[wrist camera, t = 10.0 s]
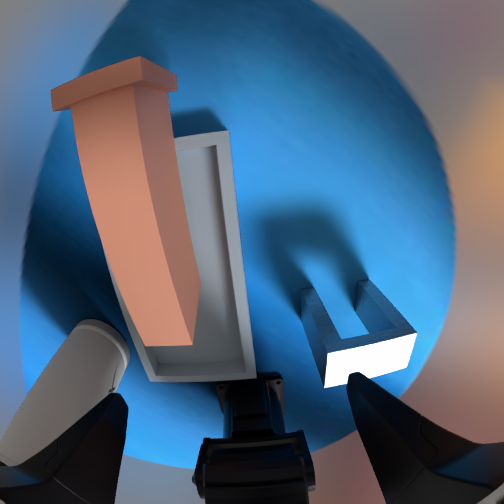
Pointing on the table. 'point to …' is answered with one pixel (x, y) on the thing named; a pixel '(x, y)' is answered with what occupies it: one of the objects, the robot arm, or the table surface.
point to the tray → (207, 273)
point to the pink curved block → (137, 192)
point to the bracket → (361, 347)
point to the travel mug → (66, 389)
